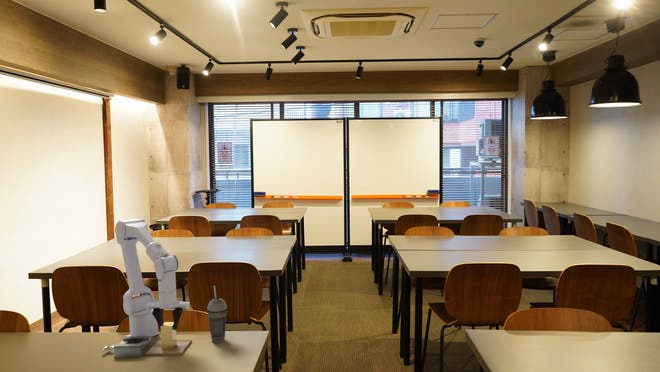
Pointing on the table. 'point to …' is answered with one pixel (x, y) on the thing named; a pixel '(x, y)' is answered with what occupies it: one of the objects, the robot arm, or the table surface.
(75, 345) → the table surface
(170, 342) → the peg
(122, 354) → the vise
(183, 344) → the board
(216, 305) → the beverage cup
